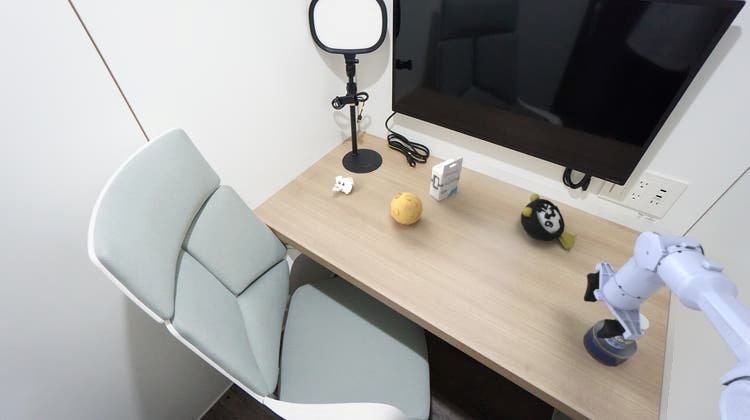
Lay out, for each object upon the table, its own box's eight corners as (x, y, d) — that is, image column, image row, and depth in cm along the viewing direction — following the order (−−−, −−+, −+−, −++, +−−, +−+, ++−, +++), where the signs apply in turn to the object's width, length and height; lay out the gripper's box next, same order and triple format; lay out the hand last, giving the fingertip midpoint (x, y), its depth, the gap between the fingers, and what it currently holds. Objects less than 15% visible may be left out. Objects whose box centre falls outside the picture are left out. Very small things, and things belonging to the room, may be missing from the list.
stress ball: (394, 206, 104) (394, 183, 97) (423, 211, 102) (426, 188, 95) (386, 227, 97) (387, 204, 90) (418, 233, 95) (421, 210, 88)
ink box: (446, 185, 111) (453, 149, 101) (456, 192, 108) (464, 157, 98) (428, 194, 108) (433, 158, 98) (438, 202, 105) (444, 166, 95)
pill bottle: (606, 347, 65) (628, 329, 59) (599, 325, 68) (619, 306, 62) (631, 351, 64) (656, 333, 58) (622, 329, 68) (645, 309, 62)
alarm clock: (541, 263, 91) (535, 234, 81) (516, 228, 101) (509, 198, 92) (582, 247, 88) (581, 215, 79) (553, 212, 99) (549, 180, 89)
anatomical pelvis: (335, 172, 112) (353, 171, 111) (337, 181, 114) (355, 180, 114) (331, 186, 106) (350, 185, 105) (333, 196, 109) (352, 195, 108)
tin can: (633, 359, 68) (647, 349, 64) (604, 372, 66) (616, 364, 63) (602, 324, 74) (613, 314, 70) (574, 336, 72) (584, 326, 68)
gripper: (593, 247, 59) (564, 284, 69) (626, 322, 49) (586, 352, 59) (634, 250, 59) (598, 287, 68) (675, 326, 49) (626, 356, 59)
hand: (595, 317), depth 64 cm, fingers open, 7 cm apart
